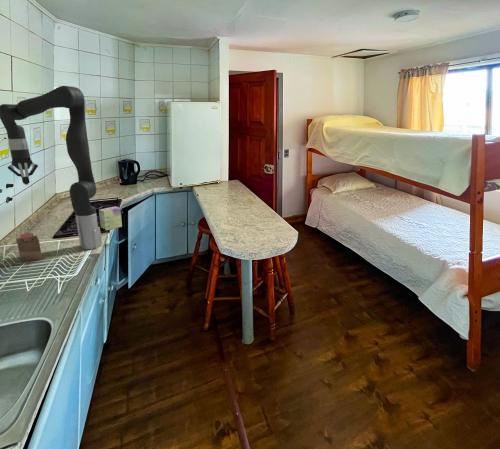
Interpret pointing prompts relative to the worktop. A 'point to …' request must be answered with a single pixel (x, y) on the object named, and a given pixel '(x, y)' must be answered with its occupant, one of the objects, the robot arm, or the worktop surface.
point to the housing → (29, 249)
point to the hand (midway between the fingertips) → (26, 184)
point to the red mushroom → (26, 236)
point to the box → (110, 218)
